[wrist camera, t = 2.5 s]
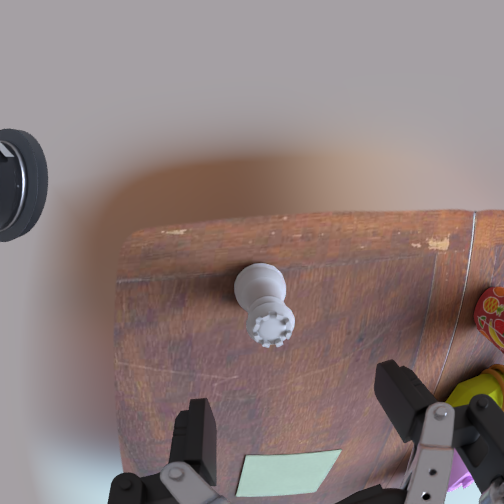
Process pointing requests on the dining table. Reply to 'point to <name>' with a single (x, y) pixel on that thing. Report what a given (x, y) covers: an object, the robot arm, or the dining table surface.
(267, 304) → the rook chess piece
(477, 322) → the smoothie
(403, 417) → the robot arm
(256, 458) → the mat
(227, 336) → the dining table surface
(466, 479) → the teapot
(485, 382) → the plumb bob
